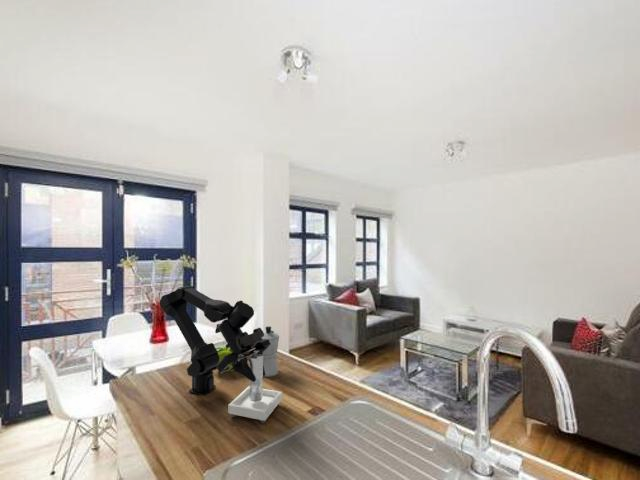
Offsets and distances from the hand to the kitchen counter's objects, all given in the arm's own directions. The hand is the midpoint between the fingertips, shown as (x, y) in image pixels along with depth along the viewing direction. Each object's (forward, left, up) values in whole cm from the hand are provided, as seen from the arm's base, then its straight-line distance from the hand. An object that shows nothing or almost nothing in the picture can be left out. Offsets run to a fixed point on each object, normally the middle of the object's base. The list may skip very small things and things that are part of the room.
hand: (259, 378), depth 96 cm
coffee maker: (-10, +27, -11) cm, 31 cm away
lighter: (-21, +37, -11) cm, 44 cm away
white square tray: (-1, 0, -11) cm, 11 cm away
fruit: (-26, +22, -11) cm, 36 cm away
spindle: (-1, 0, -7) cm, 7 cm away
